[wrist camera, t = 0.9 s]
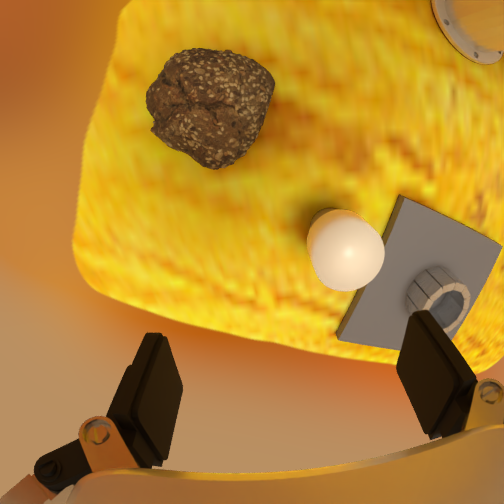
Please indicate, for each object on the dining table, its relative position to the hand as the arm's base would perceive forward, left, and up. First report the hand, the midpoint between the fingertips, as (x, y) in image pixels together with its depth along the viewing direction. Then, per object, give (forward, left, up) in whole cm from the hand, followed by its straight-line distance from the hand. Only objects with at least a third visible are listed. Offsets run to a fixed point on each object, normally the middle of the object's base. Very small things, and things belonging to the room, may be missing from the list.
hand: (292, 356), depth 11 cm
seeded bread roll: (+1, -12, -24) cm, 27 cm away
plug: (-5, +6, -23) cm, 25 cm away
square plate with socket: (-15, +20, -23) cm, 34 cm away
